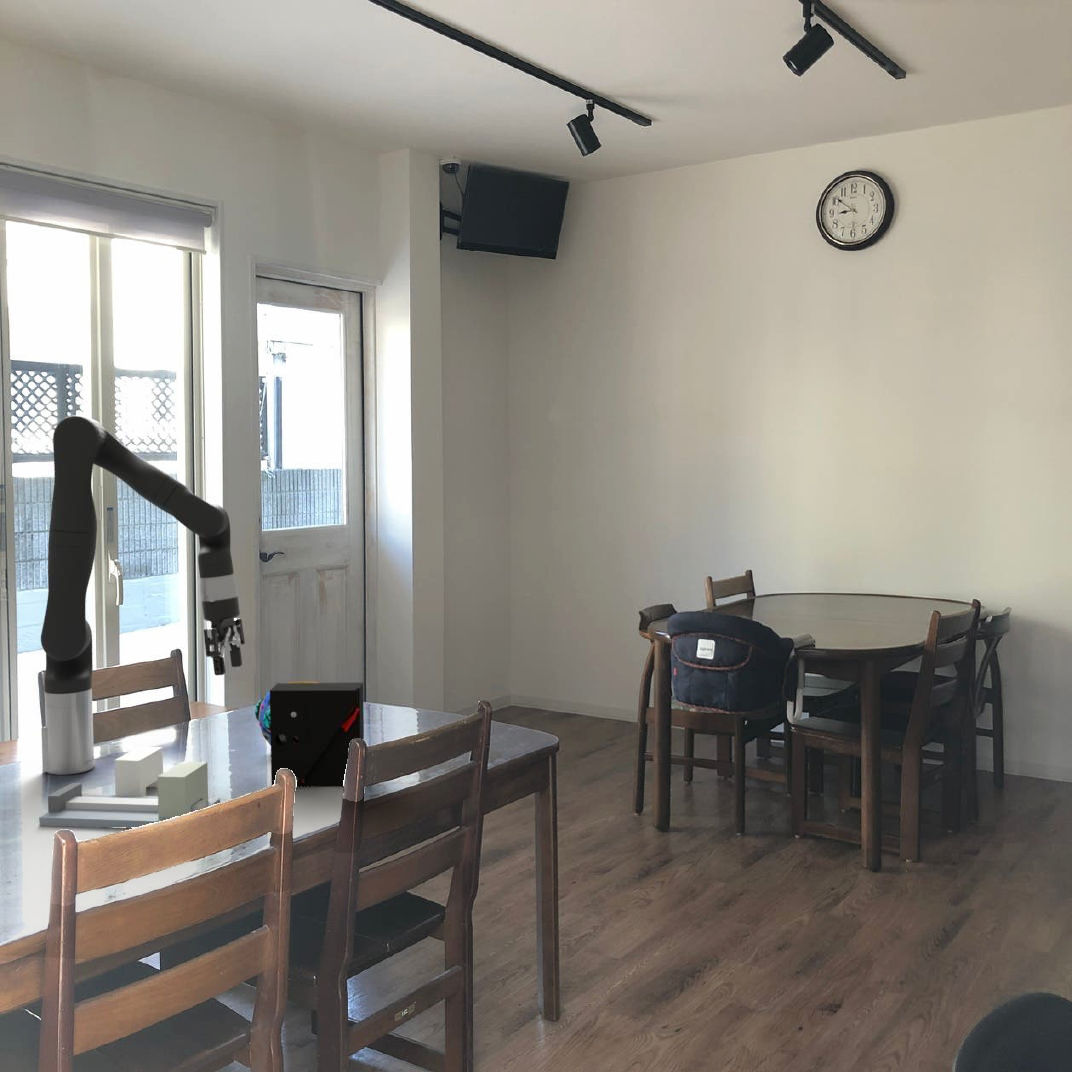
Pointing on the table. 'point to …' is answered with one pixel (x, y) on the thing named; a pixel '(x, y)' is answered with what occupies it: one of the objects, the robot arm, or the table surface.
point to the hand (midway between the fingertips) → (228, 670)
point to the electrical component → (314, 730)
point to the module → (138, 771)
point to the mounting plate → (132, 801)
